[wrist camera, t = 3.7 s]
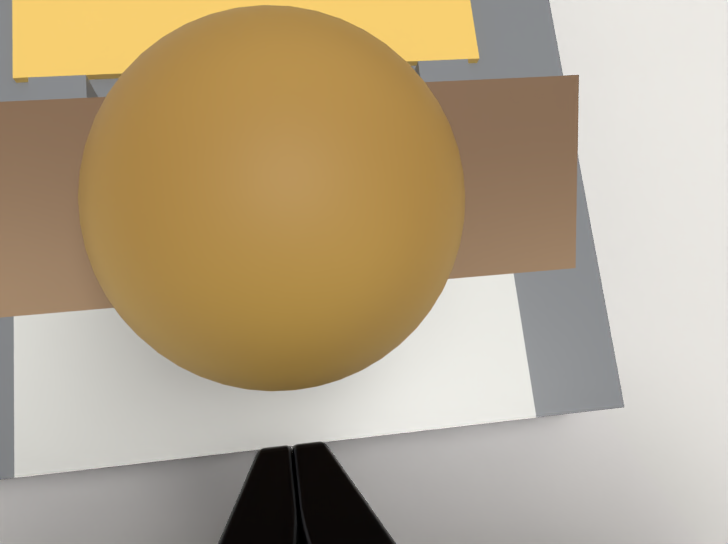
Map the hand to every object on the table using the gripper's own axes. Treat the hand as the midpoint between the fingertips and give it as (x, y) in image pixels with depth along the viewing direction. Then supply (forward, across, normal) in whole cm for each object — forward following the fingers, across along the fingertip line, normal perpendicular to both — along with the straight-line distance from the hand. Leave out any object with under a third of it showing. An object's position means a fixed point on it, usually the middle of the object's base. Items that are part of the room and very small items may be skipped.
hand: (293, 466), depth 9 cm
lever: (+7, 0, -1) cm, 7 cm away
